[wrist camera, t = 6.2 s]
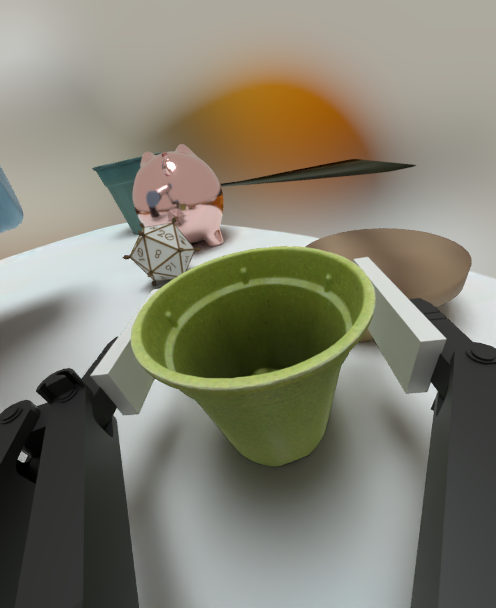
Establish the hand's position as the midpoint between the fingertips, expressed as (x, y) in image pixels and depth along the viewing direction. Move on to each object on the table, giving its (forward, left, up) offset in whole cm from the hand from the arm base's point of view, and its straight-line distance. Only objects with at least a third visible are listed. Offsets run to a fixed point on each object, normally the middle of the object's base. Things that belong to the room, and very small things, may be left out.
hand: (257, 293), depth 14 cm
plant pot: (0, -4, -6) cm, 7 cm away
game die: (-13, +17, -6) cm, 22 cm away
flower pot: (-30, +53, -6) cm, 61 cm away
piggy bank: (-14, +33, -6) cm, 36 cm away
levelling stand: (+9, +6, -6) cm, 12 cm away
